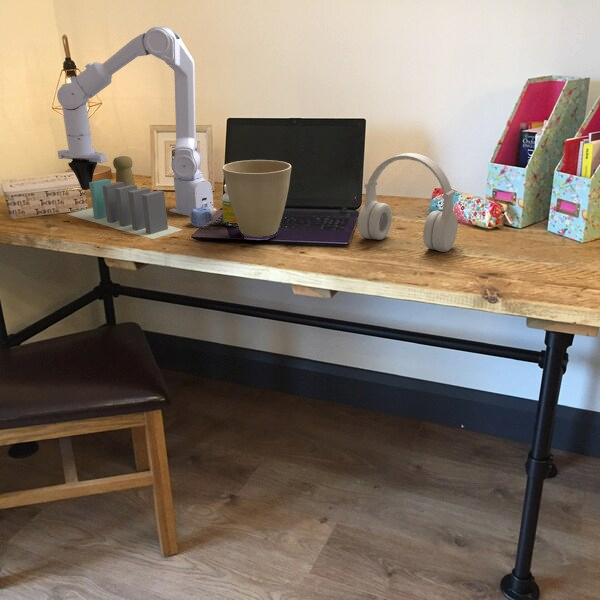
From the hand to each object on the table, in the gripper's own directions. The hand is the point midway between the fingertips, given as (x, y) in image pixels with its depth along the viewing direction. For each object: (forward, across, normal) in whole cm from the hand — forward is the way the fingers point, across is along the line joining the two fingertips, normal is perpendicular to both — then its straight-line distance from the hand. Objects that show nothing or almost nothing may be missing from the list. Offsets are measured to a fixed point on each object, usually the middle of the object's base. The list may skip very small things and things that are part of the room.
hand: (86, 189), depth 167 cm
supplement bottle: (+7, -40, -7) cm, 41 cm away
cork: (+7, +4, -18) cm, 20 cm away
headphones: (+7, -81, -11) cm, 82 cm away
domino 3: (+6, -17, +3) cm, 18 cm away
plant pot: (+7, -50, -2) cm, 50 cm away
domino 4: (+6, -22, +4) cm, 23 cm away
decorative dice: (+7, -33, -4) cm, 34 cm away
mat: (+6, -13, +3) cm, 15 cm away
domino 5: (+6, -26, +5) cm, 28 cm away
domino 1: (+6, -6, +1) cm, 9 cm away
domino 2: (+6, -12, +2) cm, 13 cm away
